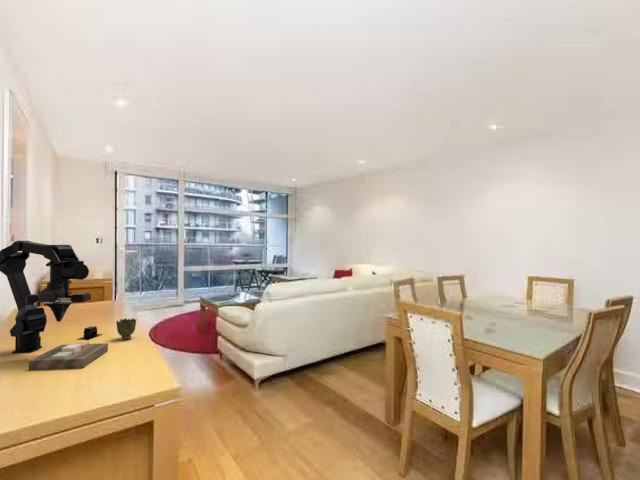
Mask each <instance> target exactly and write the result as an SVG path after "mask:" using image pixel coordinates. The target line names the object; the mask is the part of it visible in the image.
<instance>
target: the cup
mask: <svg viewBox="0 0 640 480" xmlns="http://www.w3.org/2000/svg"><path fill="white" fill-rule="evenodd" d="M115 322H116V329H117V333H118V335H119V336H121V339H122V340H124V341H125V340H129V339H131V337H132V335H133V334H134V332H135V331H136V326H137V318H131V319H130V318H123V319H122V318H120V320H118V319H117V320H116V321H115Z"/></svg>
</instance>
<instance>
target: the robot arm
mask: <svg viewBox="0 0 640 480" xmlns="http://www.w3.org/2000/svg"><path fill="white" fill-rule="evenodd" d="M30 254H34V255H39V256H43V258H44V259H47V260H49V262H47V263H46V264H45V267H49V282H47V284H46V287H45V288H43V289H42V290H41V291H39V292H37V293H33V294H32V293H31V290H30V287H29V284H28V281H27V278H26V275H25V273H24V270H25V268H26V266H27V260H28V259H29V258H30ZM0 272H1V273H2V274H4V275H5V276H6V278H7V281H8V284H9V286H10V287H9V288H10V291H11V293H12V296H13V299H14V302H15V305H16V307H17V313H16V315H15V318H14V320H15V324H13V326H12V327H11V328H10V329H9V334H10V337H14V338H15V343H14V344H15V345H14V346H15V348H14V349H15V350H12V351H11V354H19V353H32V352H35V351H36V350H39V349H41V348H43V345H42V343H41V342H42V341H41V340H42V339H41V338H42V336H40V333H42V332H44V331H45V329H46V326H47V322H48V319H47V317H48V316H47V315H46V312H45V308H44V307H42V306H41V307H38V306H37V305H36V303H38V302H39V303H43V306H47V307H49V308H50V310H51V312H52V314H53V315H54V318H55V320H56V323H58V322H62V320H63V318H64V316H65V314H66V313H67V311H68V309H69V307H70V306H71V304H73V303H74V304H75V303H77V304H78V303H85V302H89V301H91V300H92V295H91V293H90V292H78V293H77V292H76V293H74V294H73V293H72V291H70V284H72V280H78V281H79V280H80V281H81V280H85V279H87V277H88V276H89V273H90V269H89V268H88V266H87V265H86V264H85V263H84V260H80V259H79V257H78V255H77V254H76V252H75V250H74V248H73V246H72V245H71V244H46V243H40V242H34V241H30V240H16V241H14V242H12V244H10V245H8V246H6V247H4V248H2V249H1V250H0Z"/></svg>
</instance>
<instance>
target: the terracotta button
mask: <svg viewBox="0 0 640 480" xmlns="http://www.w3.org/2000/svg"><path fill="white" fill-rule="evenodd" d="M75 344H81V348H85V347H87V346H89V344H90V342H89V341H87V342H86V341H85V342H76V343H75Z"/></svg>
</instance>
